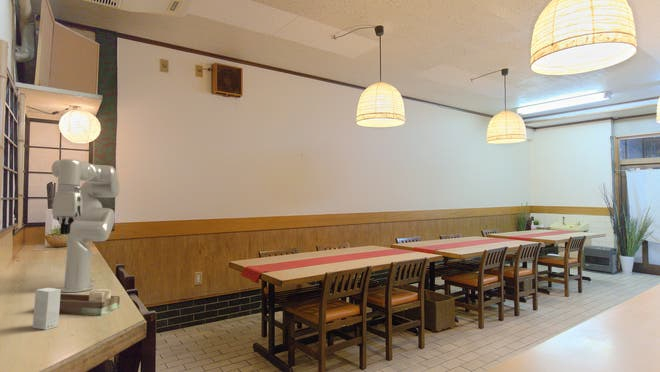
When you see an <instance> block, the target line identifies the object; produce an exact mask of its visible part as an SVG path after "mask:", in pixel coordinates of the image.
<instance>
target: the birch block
mask: <svg viewBox="0 0 660 372" xmlns="http://www.w3.org/2000/svg"><path fill="white" fill-rule="evenodd" d="M88 295H89V301H92V302H102V301H105V300H108V299H111V296H112V289H101V288H100V289H95V290H92V291H90V292H89V293H88Z"/></svg>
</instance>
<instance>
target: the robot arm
mask: <svg viewBox="0 0 660 372" xmlns="http://www.w3.org/2000/svg"><path fill="white" fill-rule="evenodd" d="M51 173H52V175H53V176H54V177H55V178H56V179H57V190H56V192H55V194H54V197H53V200H52V209H51V214H52V219H54V220H57V221H58V223H59V225H60V232H59V234H60V235H66V257H65V269H64V270H65V272H64V284H63V285H64V286H61V287H60V288H59V289H61V293H62V292H63V293H80V292H87V291H90V290H92V289H93V287H94V286H93V285H92V284H91V283H94V282H95V281H96V278H95V277H92V278H91V277H90V274H91V265H92V264H91V263H92V262H91V261H92V248H91V247H90V246H89V244H88V243H87V242H105V241H107V240H108V239H109V238H110V235H111V232H112V230H113V227H114V224H115V220H116V214H115V211H114V210H113V209H112V208H109V207H103V205H102V202H100V201H99V199H98V198H116V197H118V196H119V194H120V183H119V178H118V173H117V170H116V168H115V167H114V166H113V165H105V164H103V165H102V164H93V163H90V162H87V161H80V160H78V159H72V158H71V159H69V158H63V159H58V160H55V161H54V162H53V163H52V165H51ZM81 181H84V182H83V183H82V184H81Z"/></svg>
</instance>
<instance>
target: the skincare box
mask: <svg viewBox="0 0 660 372" xmlns="http://www.w3.org/2000/svg"><path fill="white" fill-rule="evenodd" d="M60 294H62V292H61V289H60V288H55V287H44V288H43V287H42V288H38V289H35V296H34V307H33V316H32V317H33V319H32V329H33V328H34V329H38V330H44V331H46V330H50V329H54V328H57V327H59V319H60V314H59V308H60Z"/></svg>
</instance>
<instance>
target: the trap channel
mask: <svg viewBox="0 0 660 372" xmlns="http://www.w3.org/2000/svg"><path fill="white" fill-rule="evenodd" d="M120 298H121V297H120V296H119V295H118V296H117V295H111V299H108V300H105V301H102V302H92V301H89V294H77V293H75V294H74V293H61V294H60V308H59V315H60V314H61V315H82V316H99V317H100V316H101V317H102V316H105V315H106V314H108V313H111V312H113V311H116V310H119V309H120V301H121V300H120Z"/></svg>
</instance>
